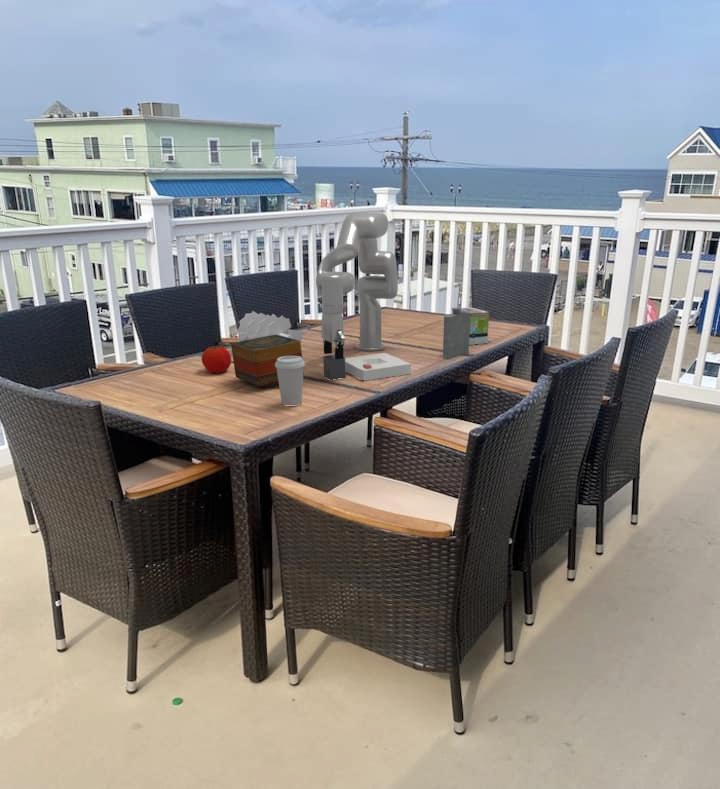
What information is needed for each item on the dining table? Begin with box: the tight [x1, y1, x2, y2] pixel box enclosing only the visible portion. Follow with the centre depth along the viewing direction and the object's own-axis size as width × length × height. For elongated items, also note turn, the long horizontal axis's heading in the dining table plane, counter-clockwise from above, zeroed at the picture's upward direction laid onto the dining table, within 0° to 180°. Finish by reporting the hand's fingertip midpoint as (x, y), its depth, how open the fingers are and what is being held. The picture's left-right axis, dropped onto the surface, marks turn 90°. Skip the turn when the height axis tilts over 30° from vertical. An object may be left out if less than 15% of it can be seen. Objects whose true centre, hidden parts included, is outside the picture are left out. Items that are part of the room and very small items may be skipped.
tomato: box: [201, 345, 232, 374], centre depth 234 cm, size 11×13×10 cm
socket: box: [345, 352, 412, 381], centre depth 232 cm, size 20×20×5 cm
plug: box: [322, 354, 346, 381], centre depth 224 cm, size 6×6×8 cm
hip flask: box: [442, 307, 470, 360], centre depth 253 cm, size 16×4×20 cm, turn 136°
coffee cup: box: [275, 356, 306, 405], centre depth 195 cm, size 10×10×15 cm
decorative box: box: [230, 335, 305, 388], centre depth 219 cm, size 20×22×16 cm
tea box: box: [460, 306, 490, 346], centre depth 278 cm, size 15×10×15 cm, turn 22°
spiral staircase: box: [236, 310, 304, 343], centre depth 258 cm, size 18×18×25 cm
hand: (333, 356), depth 223 cm, fingers open, 9 cm apart
